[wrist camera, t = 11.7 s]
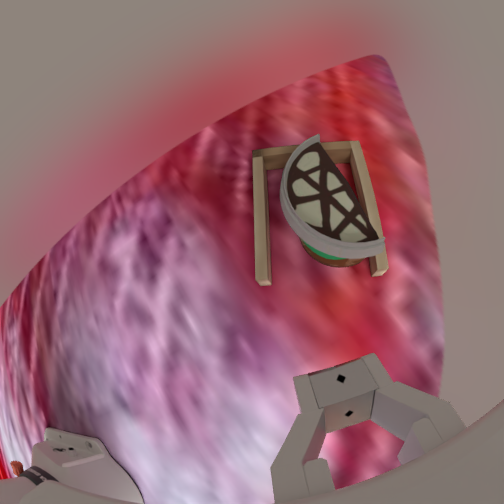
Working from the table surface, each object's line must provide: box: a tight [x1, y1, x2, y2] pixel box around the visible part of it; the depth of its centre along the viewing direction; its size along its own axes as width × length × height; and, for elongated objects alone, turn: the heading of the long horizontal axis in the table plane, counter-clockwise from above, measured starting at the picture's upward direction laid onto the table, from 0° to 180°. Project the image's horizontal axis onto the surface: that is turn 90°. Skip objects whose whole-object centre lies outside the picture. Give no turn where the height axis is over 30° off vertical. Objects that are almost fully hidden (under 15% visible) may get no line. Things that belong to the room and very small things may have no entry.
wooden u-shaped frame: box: [252, 141, 389, 286], centre depth 30 cm, size 13×16×3 cm
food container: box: [280, 134, 385, 267], centre depth 25 cm, size 12×6×10 cm, turn 20°
